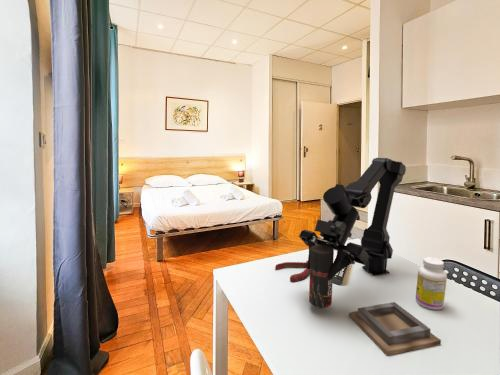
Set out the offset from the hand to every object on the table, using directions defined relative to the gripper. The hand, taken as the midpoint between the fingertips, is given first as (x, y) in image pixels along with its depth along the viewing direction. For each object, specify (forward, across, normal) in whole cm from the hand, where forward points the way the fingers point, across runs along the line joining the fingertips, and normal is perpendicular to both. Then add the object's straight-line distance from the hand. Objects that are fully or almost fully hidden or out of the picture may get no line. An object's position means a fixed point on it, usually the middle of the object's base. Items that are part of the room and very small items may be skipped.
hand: (318, 273), depth 72 cm
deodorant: (+5, 0, +7) cm, 9 cm away
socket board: (+3, +16, +13) cm, 21 cm away
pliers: (-3, -16, +20) cm, 26 cm away
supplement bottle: (-10, +19, +27) cm, 34 cm away
